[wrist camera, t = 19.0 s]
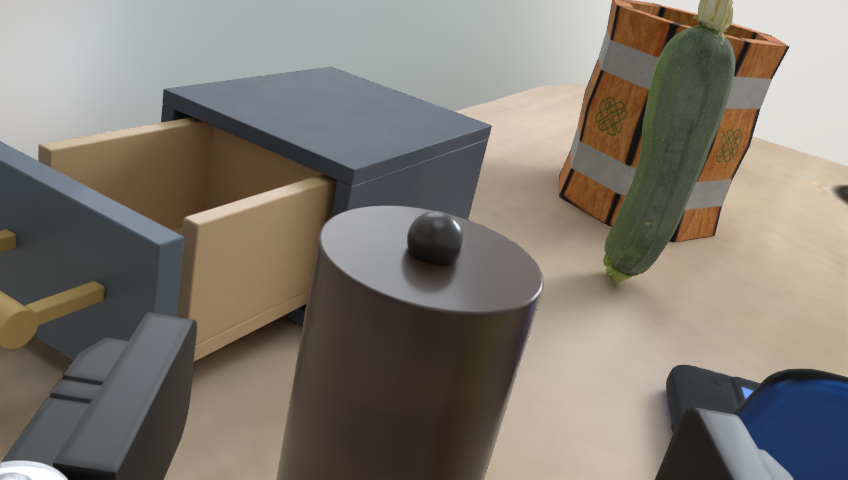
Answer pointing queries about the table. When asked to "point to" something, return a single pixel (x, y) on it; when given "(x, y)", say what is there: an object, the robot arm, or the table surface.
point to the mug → (626, 104)
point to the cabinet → (348, 137)
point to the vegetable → (674, 139)
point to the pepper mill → (407, 347)
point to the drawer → (154, 235)
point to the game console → (776, 414)
